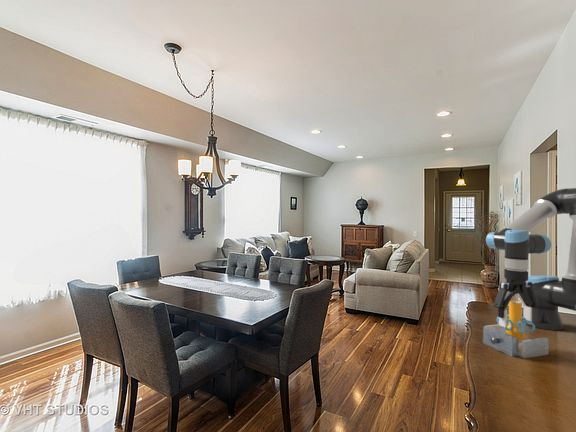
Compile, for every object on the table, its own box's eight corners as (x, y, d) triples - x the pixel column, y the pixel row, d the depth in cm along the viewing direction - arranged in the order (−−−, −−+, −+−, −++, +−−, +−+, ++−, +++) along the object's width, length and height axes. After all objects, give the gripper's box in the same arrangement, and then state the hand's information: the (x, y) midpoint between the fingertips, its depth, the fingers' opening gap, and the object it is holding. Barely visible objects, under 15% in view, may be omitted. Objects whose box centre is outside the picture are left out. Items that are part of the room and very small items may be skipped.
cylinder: (540, 348, 112) (540, 307, 112) (508, 345, 114) (508, 305, 114) (521, 335, 124) (521, 298, 124) (493, 333, 126) (493, 297, 126)
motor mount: (507, 337, 128) (507, 322, 128) (548, 354, 113) (548, 337, 113) (474, 341, 124) (475, 325, 124) (513, 359, 108) (513, 341, 108)
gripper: (529, 266, 125) (528, 318, 126) (483, 269, 119) (482, 323, 119) (549, 269, 118) (548, 325, 118) (501, 272, 112) (500, 331, 112)
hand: (515, 324), depth 119 cm, fingers closed on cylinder, 12 cm apart
